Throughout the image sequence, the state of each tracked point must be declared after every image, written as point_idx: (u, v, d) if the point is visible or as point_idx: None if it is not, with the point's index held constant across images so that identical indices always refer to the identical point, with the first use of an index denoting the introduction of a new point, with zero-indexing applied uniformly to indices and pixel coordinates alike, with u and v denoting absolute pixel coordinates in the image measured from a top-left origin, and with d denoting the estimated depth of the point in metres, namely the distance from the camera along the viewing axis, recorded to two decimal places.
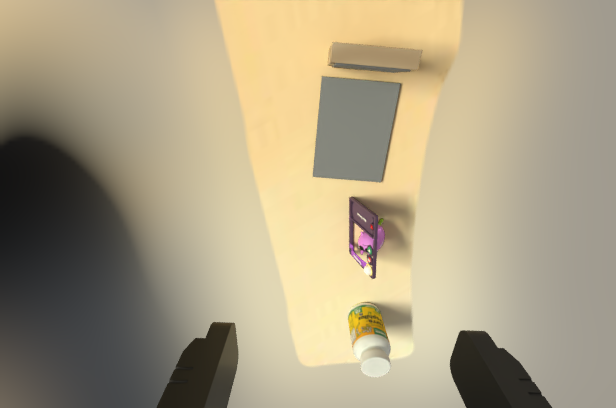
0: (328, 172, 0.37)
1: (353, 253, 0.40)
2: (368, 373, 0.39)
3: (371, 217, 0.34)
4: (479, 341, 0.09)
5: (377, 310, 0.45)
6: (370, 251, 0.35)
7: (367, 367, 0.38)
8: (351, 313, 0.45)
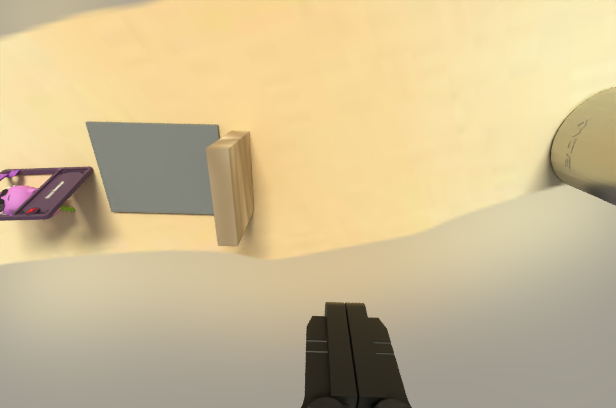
0: (99, 144, 0.27)
1: None
2: None
3: (49, 207, 0.24)
4: (353, 311, 0.10)
5: None
6: None
7: None
8: None
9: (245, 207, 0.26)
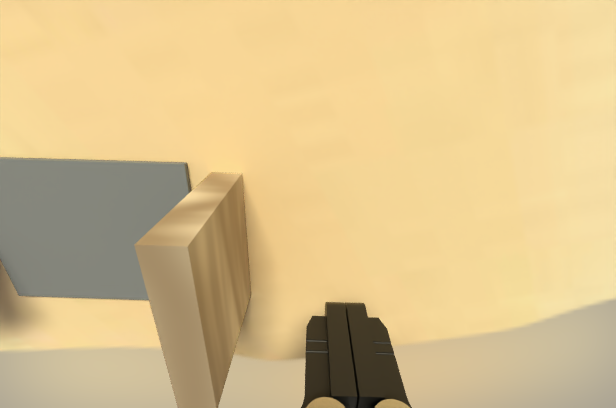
0: None
1: None
2: None
3: None
4: (353, 310, 0.10)
5: None
6: None
7: None
8: None
9: (234, 312, 0.14)
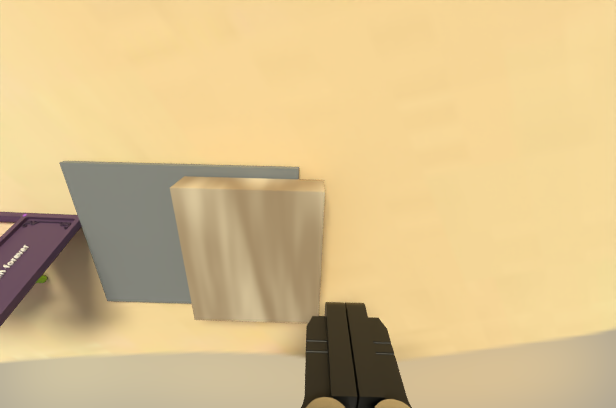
0: (85, 199, 0.15)
1: None
2: None
3: None
4: (353, 311, 0.10)
5: None
6: None
7: None
8: None
9: (254, 295, 0.15)
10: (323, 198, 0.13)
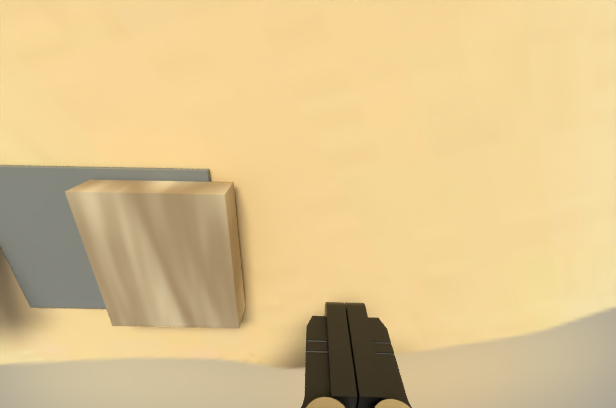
0: None
1: None
2: None
3: None
4: (353, 310, 0.10)
5: None
6: None
7: None
8: None
9: (169, 300, 0.15)
10: (224, 201, 0.13)
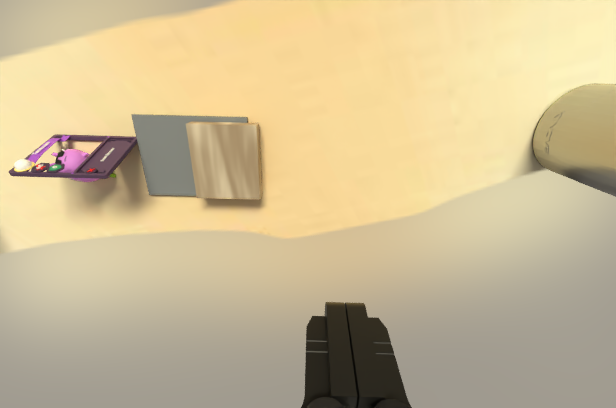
0: (142, 134, 0.31)
1: (52, 141, 0.29)
2: None
3: (105, 169, 0.27)
4: (353, 311, 0.10)
5: None
6: (53, 168, 0.26)
7: None
8: None
9: (226, 182, 0.31)
10: (255, 128, 0.28)
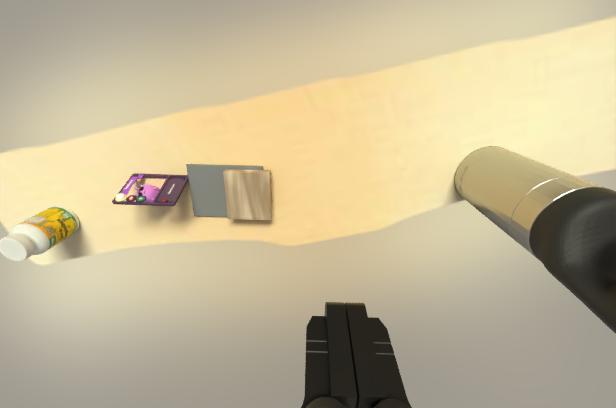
0: (192, 176, 0.46)
1: (133, 179, 0.45)
2: (1, 245, 0.41)
3: (172, 199, 0.42)
4: (353, 311, 0.10)
5: (74, 231, 0.49)
6: (140, 199, 0.41)
7: (8, 242, 0.41)
8: (60, 210, 0.47)
9: (248, 209, 0.46)
10: (268, 175, 0.44)
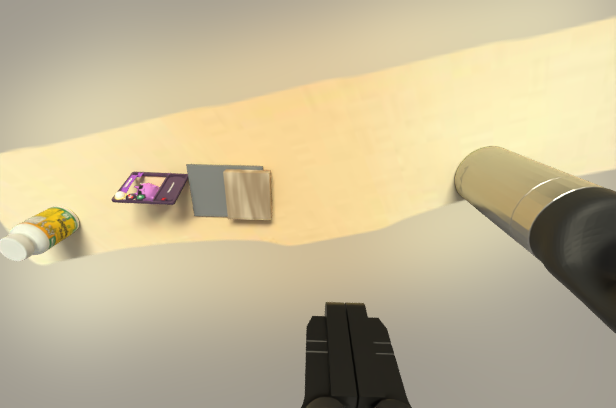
0: (192, 176, 0.46)
1: (133, 177, 0.44)
2: (1, 245, 0.41)
3: (172, 198, 0.42)
4: (353, 310, 0.10)
5: (74, 231, 0.49)
6: (139, 197, 0.41)
7: (8, 242, 0.41)
8: (60, 210, 0.47)
9: (248, 209, 0.46)
10: (268, 175, 0.44)
